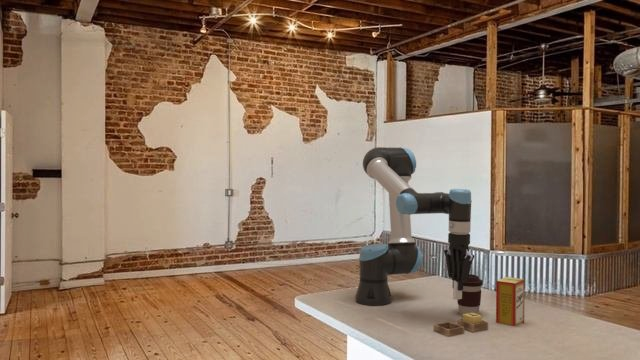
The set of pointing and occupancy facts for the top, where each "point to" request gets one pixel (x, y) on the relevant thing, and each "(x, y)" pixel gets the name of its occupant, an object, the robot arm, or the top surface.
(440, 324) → the box
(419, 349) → the top surface
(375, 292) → the robot arm
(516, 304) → the baking soda box
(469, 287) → the coffee cup
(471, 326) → the box
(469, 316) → the letter cube
